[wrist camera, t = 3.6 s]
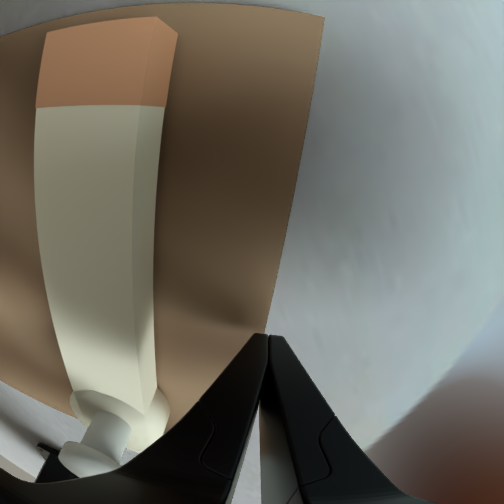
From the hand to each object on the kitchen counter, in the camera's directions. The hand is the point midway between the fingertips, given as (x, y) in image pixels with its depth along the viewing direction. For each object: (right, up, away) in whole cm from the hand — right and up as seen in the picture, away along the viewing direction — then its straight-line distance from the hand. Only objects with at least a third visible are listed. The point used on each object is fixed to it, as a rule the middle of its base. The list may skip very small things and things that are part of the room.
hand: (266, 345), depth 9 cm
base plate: (-11, +3, +2) cm, 11 cm away
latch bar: (-5, +2, 0) cm, 5 cm away
